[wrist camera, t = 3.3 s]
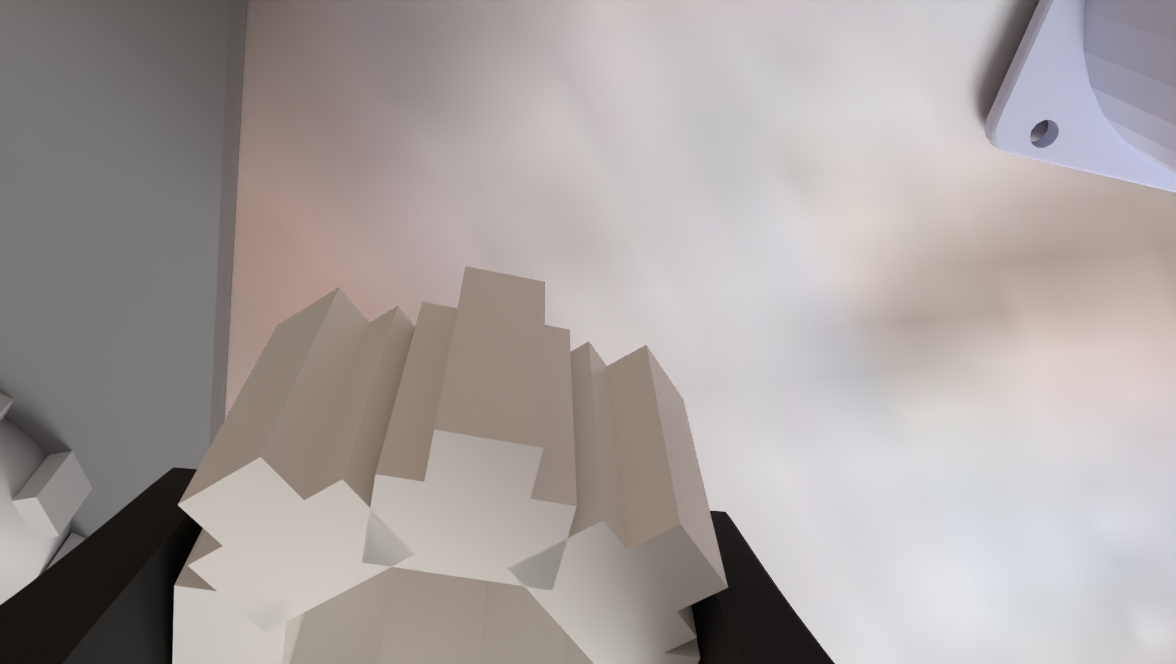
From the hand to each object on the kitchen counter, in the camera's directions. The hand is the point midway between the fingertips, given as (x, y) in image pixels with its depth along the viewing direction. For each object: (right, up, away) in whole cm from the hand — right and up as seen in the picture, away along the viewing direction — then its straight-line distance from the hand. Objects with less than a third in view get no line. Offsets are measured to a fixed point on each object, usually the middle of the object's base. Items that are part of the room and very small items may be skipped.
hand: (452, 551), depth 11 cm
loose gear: (0, +1, +1) cm, 1 cm away
